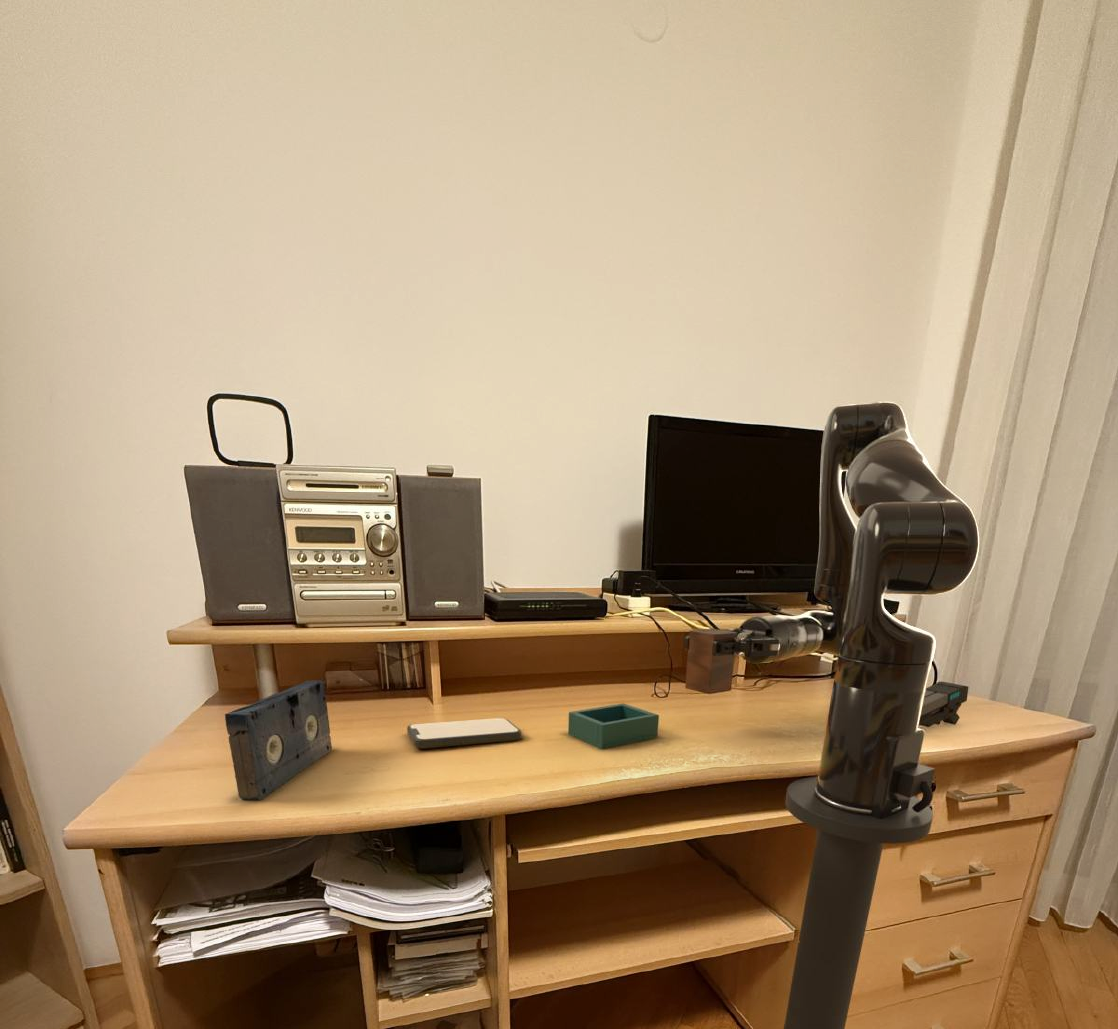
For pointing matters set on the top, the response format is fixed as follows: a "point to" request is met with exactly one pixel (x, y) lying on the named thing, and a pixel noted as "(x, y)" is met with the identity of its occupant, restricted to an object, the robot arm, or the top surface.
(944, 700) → the gun
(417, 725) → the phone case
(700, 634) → the brown block
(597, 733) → the open box
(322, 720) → the vhs cassette tape
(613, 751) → the top surface
